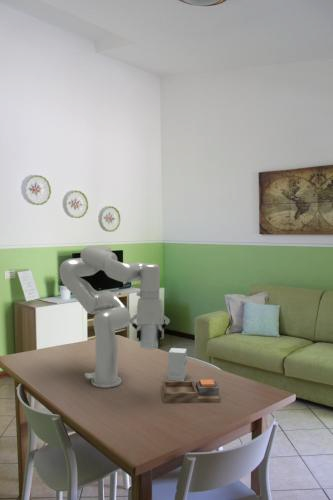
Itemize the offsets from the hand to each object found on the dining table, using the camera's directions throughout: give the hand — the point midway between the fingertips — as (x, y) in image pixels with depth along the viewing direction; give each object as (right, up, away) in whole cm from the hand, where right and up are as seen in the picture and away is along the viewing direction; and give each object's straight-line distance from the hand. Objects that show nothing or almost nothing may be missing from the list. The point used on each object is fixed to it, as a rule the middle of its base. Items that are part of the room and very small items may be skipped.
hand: (149, 339), depth 171 cm
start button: (+23, -20, +3) cm, 31 cm away
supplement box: (+12, -22, +22) cm, 33 cm away
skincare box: (0, -3, 0) cm, 3 cm away
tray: (+16, -23, +2) cm, 28 cm away
